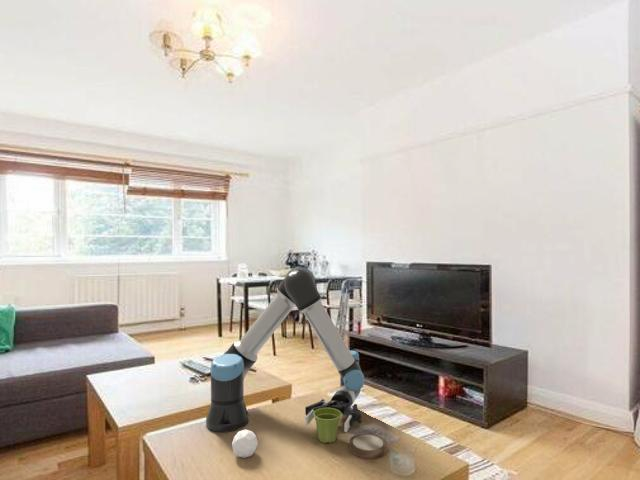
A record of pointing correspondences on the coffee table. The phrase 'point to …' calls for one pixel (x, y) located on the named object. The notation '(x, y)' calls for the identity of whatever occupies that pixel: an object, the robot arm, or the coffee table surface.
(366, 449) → the pedestal
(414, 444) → the coffee table surface
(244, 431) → the geometric ball
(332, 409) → the plant pot
